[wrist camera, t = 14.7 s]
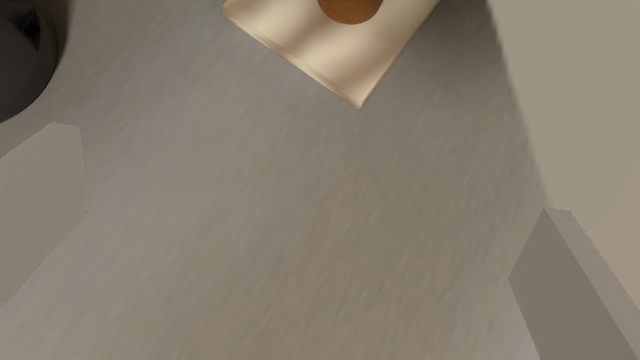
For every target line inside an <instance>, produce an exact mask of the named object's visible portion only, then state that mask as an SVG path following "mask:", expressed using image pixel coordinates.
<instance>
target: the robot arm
mask: <svg viewBox="0 0 640 360" xmlns="http://www.w3.org/2000/svg"><path fill="white" fill-rule="evenodd" d="M56 58H57V35H56V31H55V28H54V25H53V22H52V20H51V18H50V16H49V15H48V13H47V12H46V10H45V9H44V8H43V7H42V5H41V4H40V3H39V2H38V1H37V0H0V123H1V122H3V121H5V120H7V119H9V118H11V117H13V116H15V115H16V114H18V113H19V112H21V111H22V110H23V109H25V108H26V107H27V106H28V105H29V104H30V103H31V102H32V101H33V100H35V98H36V97H37V96H38V95H39V94H40V93H41V91H42V90H43V89H44V87H45V86H46V84H47V82H48V80H49V79H50V76H51V74H52V72H53V69H54V66H55V63H56ZM89 208H90V204H89V197H88V189H87V181H86V174H85V166H84V158H83V151H82V143H81V136H80V128H79V127H77V126H71V125H65V124H59V123H54V122H51V123H50V124H48V125H47V126H46V127H44V128H43V129H41V130H40V131H38V132H37V133H36V134H34V135H33V136H31V137H30V138H29V139H27V140H26V141H24V142H23V143H21V144H20V145H19V146H17V147H16V148H14V149H13V150H12V151H10V152H9V153H7V154H6V155H4V156H3V157H2V158H0V309H1V308H2V306H3V305H4V304H5V303H6V302H7V301H8V300H9V299H10V297H11V296H12V295H13V294H14V293H15V292H16V291H17V290H18V288H19V287H20V286H21V285H22V284H23V283H24V282H25V281H26V279H27V278H28V277H29V276H30V275H31V274H32V273H33V272H34V270H35V269H36V268H37V267H38V266H39V265H40V264H41V263H42V261H43V260H44V259H45V258H46V257H47V256H48V255H49V254H50V252H51V251H52V250H53V249H54V248H55V247H56V246H57V245H58V243H59V242H60V241H61V240H62V239H63V238H64V237H65V236H66V234H67V233H68V232H69V231H70V230H71V229H72V228H73V227H74V225H75V224H76V223H77V222H78V221H79V220H80V219H81V218H82V216H83V215H84V214H85V213H86V212H87V211H88V210H89ZM508 280H509V282H510V285H511V287H512V289H513V292H514V294H515V297H516V299H517V302H518V304H519V307H520V309H521V312H522V314H523V317H524V319H525V322H526V324H527V327H528V329H529V332H530V334H531V337H532V339H533V342H534V344H535V347H536V349H537V352H538V354H539V357H540V359H541V360H640V310H639V309H638V308H637V306H636V305H635V303H634V302H633V300H632V299H631V297H630V296H629V295H628V293H627V292H626V290H625V289H624V287H623V286H622V284H621V283H620V282H619V280H618V279H617V277H616V276H615V274H614V273H613V272H612V270H611V269H610V267H609V266H608V264H607V263H606V262H605V260H604V259H603V257H602V256H601V254H600V253H599V251H598V250H597V249H596V247H595V246H594V244H593V243H592V242H591V240H590V239H589V237H588V236H587V234H586V233H585V231H584V230H583V229H582V227H581V226H580V224H579V223H578V221H577V220H576V218H575V217H574V216H573V214H572V213H571V211H565V210H560V209H554V208H548V207H544V208H543V210H542V212H541V214H540V216H539V218H538V220H537V222H536V224H535V226H534V228H533V230H532V232H531V234H530V236H529V238H528V240H527V242H526V244H525V246H524V248H523V250H522V252H521V254H520V256H519V258H518V260H517V262H516V264H515V266H514V267H513V269H512V271H511V273H510V275H509V277H508Z"/></svg>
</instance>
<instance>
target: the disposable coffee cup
mask: <svg viewBox="0 0 640 360" xmlns="http://www.w3.org/2000/svg"><path fill="white" fill-rule="evenodd" d="M317 1H318V4H319V6H320V8H321V9H322V11H323V12H324V13H325V14H326V15H327V16H328V17H329V18H331V19H332V20H334V21H336V22H339V23H342V24H347V25H354V24H360V23H363V22H366V21H368V20H369V19H371V18H372V17H373V16H374V15H375V14H376V13H377V11H378V10H379V8H380V6H381V4H382V2H383V0H317Z"/></svg>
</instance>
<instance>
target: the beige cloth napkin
mask: <svg viewBox="0 0 640 360" xmlns="http://www.w3.org/2000/svg"><path fill="white" fill-rule="evenodd" d="M439 2H440V0H383V2H382V4H381V6H380V8H379V10H378V11H377V13H376V14H375V15H374V16H373V17H372V18H371V19H369V20H368V21H366V22H363V23H360V24H354V25H347V24H342V23H339V22H336V21H334V20H332V19H331V18H329V17H328V16H327V15H326V14H325V13H324V12H323V11H322V9H321V8H320V6H319V4H318V1H317V0H227V1H226V2H225V4H224V5H223V10H224V14H225V18H226V19H227V20H229V21H230V22H232V23H233V24H235V25H236V26H238V27H239V28H241V29H242V30H244V31H245V32H247V33H248V34H249V35H251V36H252V37H254V38H255V39H257V40H258V41H260V42H261V43H263V44H264V45H266V46H267V47H268V48H270V49H271V50H273V51H274V52H276V53H277V54H279V55H280V56H282V57H283V58H285V59H286V60H288V61H289V62H290V63H292V64H293V65H295V66H296V67H298V68H299V69H301V70H302V71H304V72H305V73H307V74H308V75H309V76H311V77H312V78H314V79H315V80H317V81H318V82H320V83H321V84H323V85H324V86H326V87H327V88H329V89H330V90H331V91H333V92H334V93H336V94H337V95H339V96H340V97H342V98H343V99H345V100H346V101H348V102H349V103H350V104H352V105H353V106H355V107H356V108H358V109H359V110H360V109H361V107H362V106H363V105H364V103H365V102H366V101H367V99H368V98H369V96H370V95H371V94H372V92H373V91H374V90H375V88H376V87H377V86H378V84H379V83H380V82H381V80H382V79H383V78H384V76H385V75H386V73H387V72H388V71H389V69H390V68H391V67H392V65H393V64H394V63H395V61H396V60H397V59H398V57H399V56H400V55H401V53H402V52H403V50H404V49H405V48H406V46H407V45H408V44H409V42H410V41H411V40H412V38H413V37H414V36H415V34H416V33H417V32H418V30H419V29H420V27H421V26H422V25H423V23H424V22H425V21H426V19H427V18H428V17H429V15H430V14H431V13H432V11H433V10H434V9H435V7H436V6H437V4H438V3H439Z"/></svg>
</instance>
